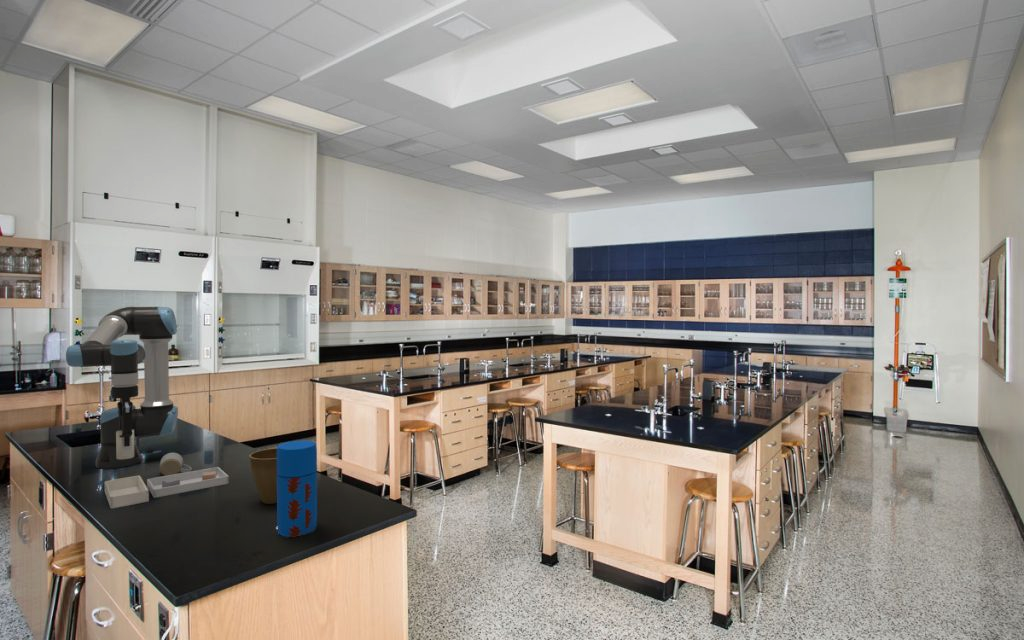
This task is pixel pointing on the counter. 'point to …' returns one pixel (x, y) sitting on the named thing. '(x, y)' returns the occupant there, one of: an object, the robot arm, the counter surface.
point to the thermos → (296, 487)
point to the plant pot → (265, 474)
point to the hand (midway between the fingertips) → (125, 453)
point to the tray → (186, 482)
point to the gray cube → (170, 482)
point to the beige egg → (119, 447)
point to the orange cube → (208, 475)
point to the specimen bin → (126, 491)
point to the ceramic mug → (173, 464)
